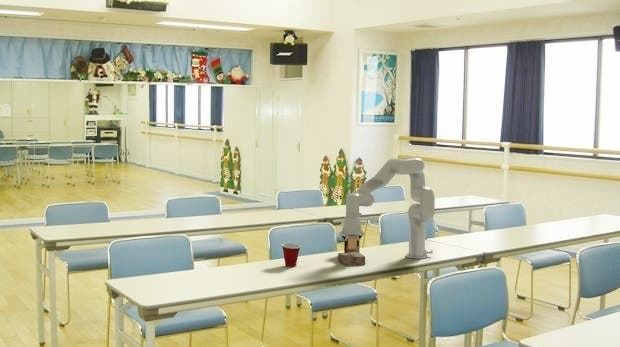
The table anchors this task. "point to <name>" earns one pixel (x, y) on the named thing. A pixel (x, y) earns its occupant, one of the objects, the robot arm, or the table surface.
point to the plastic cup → (290, 254)
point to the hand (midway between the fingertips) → (351, 246)
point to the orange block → (352, 243)
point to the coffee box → (351, 249)
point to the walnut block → (351, 258)
